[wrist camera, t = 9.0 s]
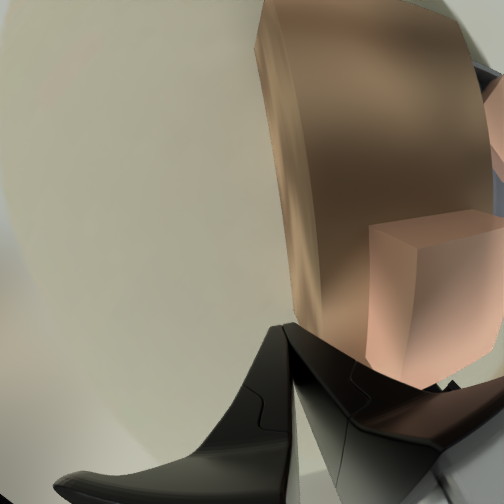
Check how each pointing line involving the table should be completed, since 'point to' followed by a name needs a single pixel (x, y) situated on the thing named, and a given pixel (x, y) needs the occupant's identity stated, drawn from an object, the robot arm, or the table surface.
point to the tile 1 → (434, 294)
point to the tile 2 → (495, 122)
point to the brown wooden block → (365, 141)
